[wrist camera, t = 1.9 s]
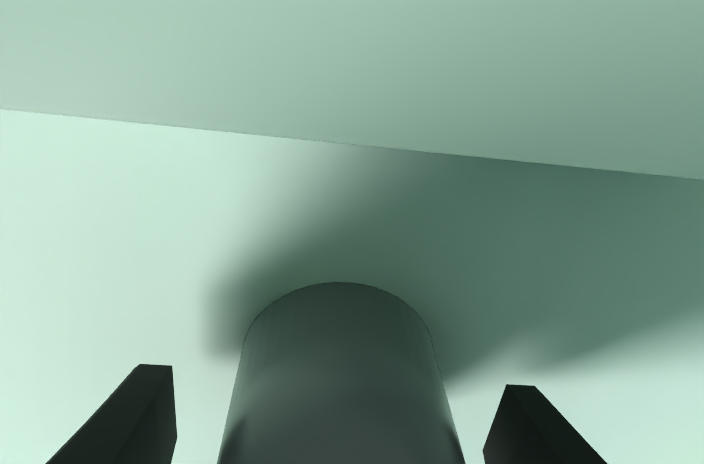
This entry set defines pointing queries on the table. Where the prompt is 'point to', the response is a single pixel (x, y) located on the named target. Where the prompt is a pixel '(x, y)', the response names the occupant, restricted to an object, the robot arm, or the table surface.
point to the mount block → (380, 73)
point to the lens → (339, 384)
